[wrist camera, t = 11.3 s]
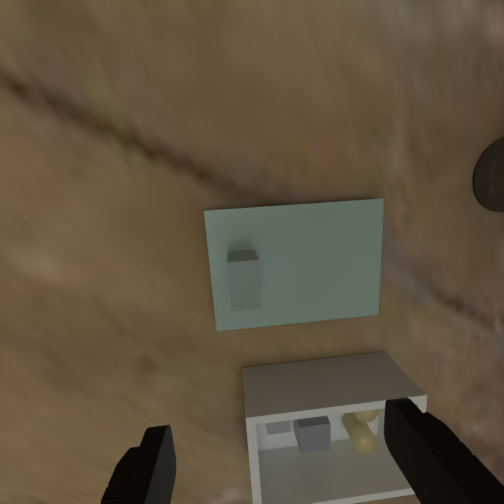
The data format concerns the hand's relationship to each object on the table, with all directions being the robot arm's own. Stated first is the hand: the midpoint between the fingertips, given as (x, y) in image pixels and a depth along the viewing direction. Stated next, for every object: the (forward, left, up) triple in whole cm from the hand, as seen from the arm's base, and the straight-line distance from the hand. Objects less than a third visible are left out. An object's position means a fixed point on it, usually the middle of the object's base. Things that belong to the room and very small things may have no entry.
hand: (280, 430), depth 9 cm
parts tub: (-8, +21, -23) cm, 32 cm away
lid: (-6, 0, -23) cm, 24 cm away
